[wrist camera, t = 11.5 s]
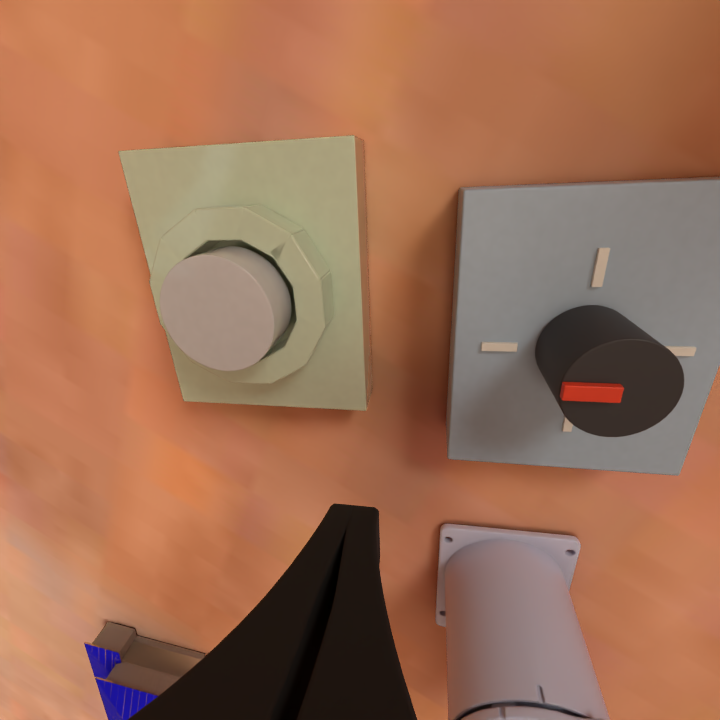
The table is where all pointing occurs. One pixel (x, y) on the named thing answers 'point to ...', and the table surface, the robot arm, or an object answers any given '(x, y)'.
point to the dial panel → (574, 289)
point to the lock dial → (608, 372)
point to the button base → (269, 257)
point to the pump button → (225, 307)
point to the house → (134, 668)
